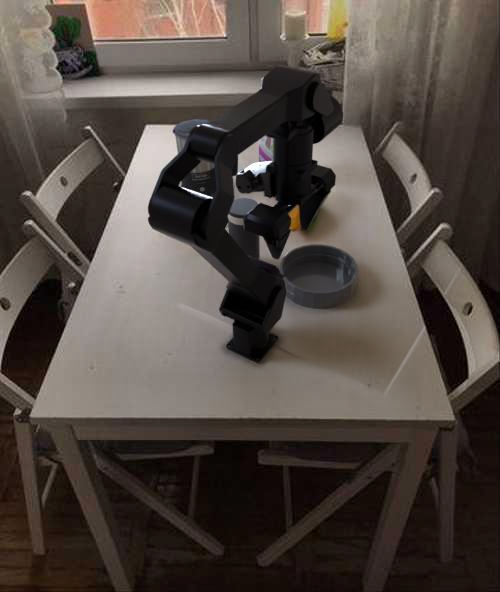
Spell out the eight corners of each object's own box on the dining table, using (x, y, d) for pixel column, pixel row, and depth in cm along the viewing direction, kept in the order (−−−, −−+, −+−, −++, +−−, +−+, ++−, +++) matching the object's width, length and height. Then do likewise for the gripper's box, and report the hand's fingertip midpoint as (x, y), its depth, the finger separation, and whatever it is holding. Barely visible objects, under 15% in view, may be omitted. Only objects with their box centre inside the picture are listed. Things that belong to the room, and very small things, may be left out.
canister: (262, 275, 107) (261, 213, 98) (233, 279, 106) (229, 217, 97) (257, 257, 111) (255, 195, 102) (228, 261, 111) (224, 199, 101)
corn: (328, 163, 123) (312, 213, 108) (328, 194, 128) (313, 246, 113) (294, 162, 125) (274, 211, 110) (296, 192, 129) (277, 243, 115)
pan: (334, 320, 97) (336, 303, 95) (265, 292, 103) (265, 275, 101) (368, 276, 106) (370, 259, 103) (302, 252, 112) (303, 236, 109)
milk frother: (189, 202, 127) (182, 141, 117) (163, 172, 137) (155, 113, 127) (246, 186, 132) (243, 125, 122) (216, 157, 142) (212, 100, 132)
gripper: (278, 120, 91) (277, 203, 102) (210, 170, 80) (217, 257, 90) (340, 136, 87) (333, 221, 97) (277, 191, 75) (277, 281, 86)
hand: (290, 243), depth 93 cm, fingers open, 9 cm apart
